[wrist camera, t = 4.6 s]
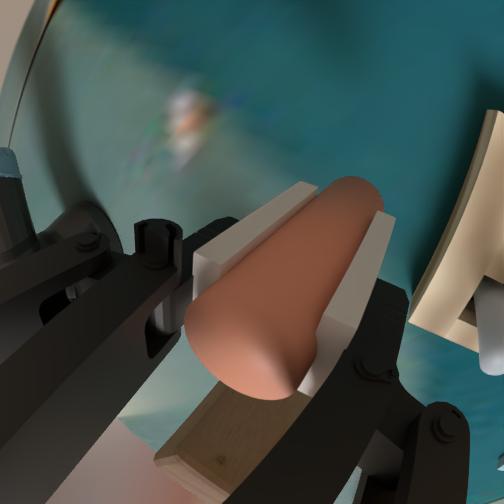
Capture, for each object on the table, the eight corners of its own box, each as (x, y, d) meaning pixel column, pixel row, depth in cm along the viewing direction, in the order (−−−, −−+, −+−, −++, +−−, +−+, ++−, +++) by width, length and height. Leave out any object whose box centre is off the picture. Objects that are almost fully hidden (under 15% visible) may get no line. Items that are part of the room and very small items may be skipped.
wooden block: (281, 317, 36) (171, 454, 21) (342, 371, 35) (265, 518, 20) (242, 351, 43) (147, 460, 27) (295, 396, 42) (219, 513, 26)
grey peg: (466, 289, 24) (471, 367, 16) (481, 262, 22) (496, 336, 15) (490, 301, 23) (501, 380, 15) (506, 275, 21) (527, 350, 14)
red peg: (315, 223, 16) (183, 359, 8) (331, 167, 14) (185, 270, 6) (372, 247, 15) (283, 416, 7) (393, 190, 13) (321, 339, 5)
